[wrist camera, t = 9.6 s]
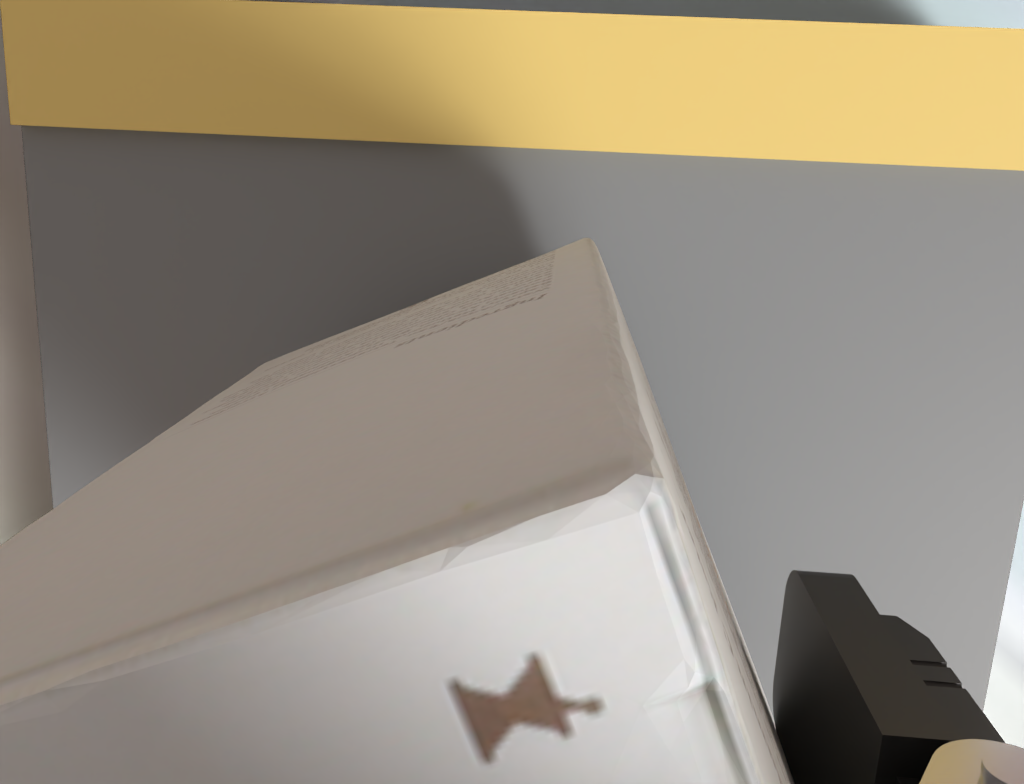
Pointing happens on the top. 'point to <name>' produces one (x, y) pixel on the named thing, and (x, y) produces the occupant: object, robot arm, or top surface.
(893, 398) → the loading dock
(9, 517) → the top surface
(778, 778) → the small box
